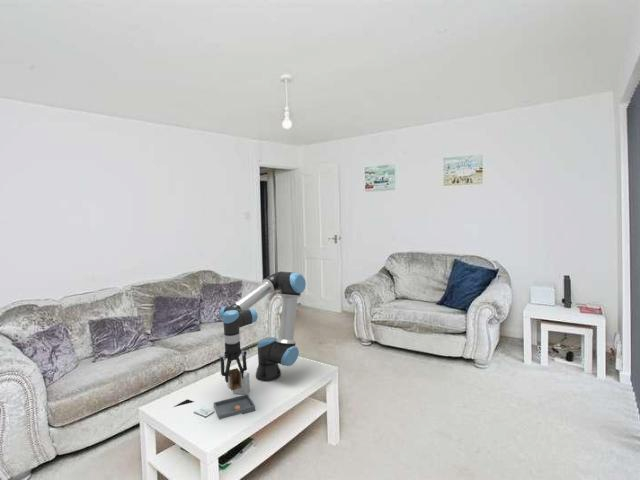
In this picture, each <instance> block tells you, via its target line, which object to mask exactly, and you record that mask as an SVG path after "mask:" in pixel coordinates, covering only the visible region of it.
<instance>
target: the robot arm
mask: <svg viewBox="0 0 640 480" xmlns="http://www.w3.org/2000/svg"><path fill="white" fill-rule="evenodd" d="M306 286H307V285H306V278H305V277H304V275H302V274H301V273H300V272H299V273H298V272H289V271H277V272H273V273H272V274H270V275H269V276H267V277H265V278H264V279H263V280H262V281H261V283H260V284H258V285H257V286H256V287H254V288H252V289H251V290H250V291H249V292H247V293H246V294H245V295H243V296H242V297H240V298H239V299H238V300H236V301H235V302H234V303H232V304H231V305H229V306H222V307H221V308H220V310H219V311H218V312H219V313H218V315H219V319H221V320H222V323H223V334H224V339H223V340H224V354H222V355H219V357H218V358H219V360H220V375H221V376H222V377H224V380H225V383H226V384H227V388H228V390H231V389H230V376H229V370H231V364H232V362H233V361H235V362H236V364H237V366H238V370H239V371H240V372H241V384H242V378H243V373H244V372H246V371H247V370H248V367H247V366H248V365H247V355H248V354H247V353H248V352H247V351H246V350H245V349H243V350H241V349H242V348H241V341H240V340H241V335H240V328H243V327H246V326H249V325H252V324H253V323H256V322H257V321H258V319H259V318H258V313H257V311H256V309H254V308H252V307H253V306H255V305H256V304H257V303H258V302H259V301H261V300H263V299H264V298H265V297H266V296H267V295H269V294H272V293H274V292H276V291H281V292H280V293H281V294H280V295H281V296H282V305H281V306H282V307H281V317H280V323H279V333H278V335H279V336H278V338H277V337H275V336H273V337H265V338H262V339H260V340H258V341H257V360H258V364H257V367H256V372H255V378H256V380H258V381H259V382H260V381H262V382H271V381H276V380H278V379H279V378H280V377H281V376H282V374H281V373H282V371H281V368H280V366H279V365H282V366H287V367H290V366H292V365H294V364H295V363H296V362H297V360H298V357H299V354H300V352H299V347H297V346H296V343H297V342H296V340H295V339H294V337H295V336H294V335H295V327H296V317H297V307H298V299H299V298H300V297H301V294H302V293H304V292H305V289H306ZM240 355H241V357H242V358H241V359H240ZM225 359H227V360H226V365H225ZM241 360H242V363H241Z"/></svg>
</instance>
